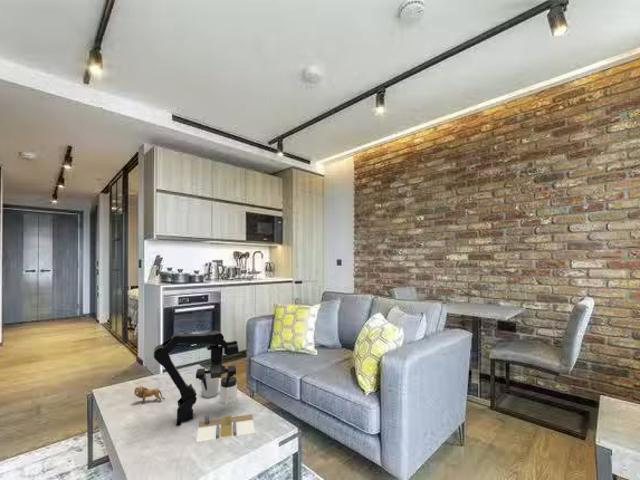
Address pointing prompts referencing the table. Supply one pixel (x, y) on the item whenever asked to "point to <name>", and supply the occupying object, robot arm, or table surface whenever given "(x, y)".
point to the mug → (210, 386)
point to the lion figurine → (147, 393)
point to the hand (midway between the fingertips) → (216, 389)
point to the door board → (215, 431)
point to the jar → (228, 390)
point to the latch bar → (226, 426)
